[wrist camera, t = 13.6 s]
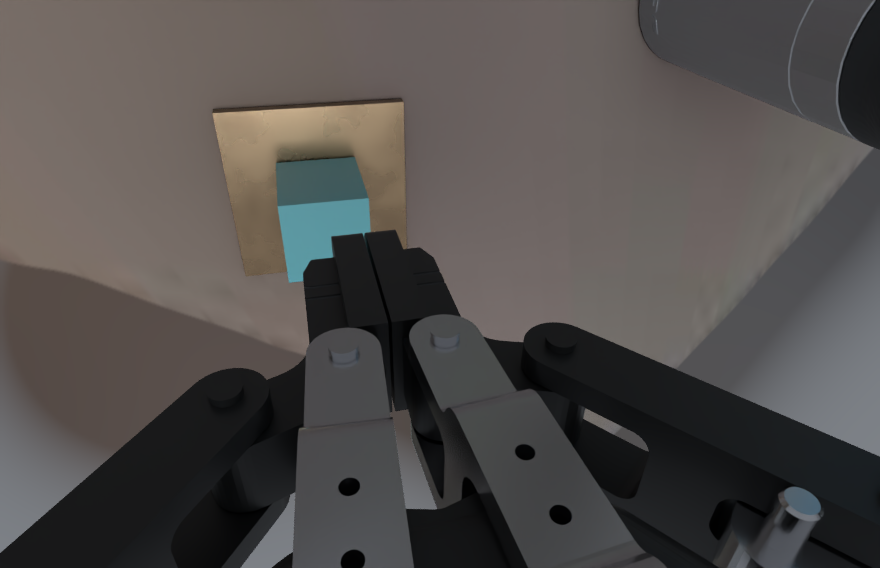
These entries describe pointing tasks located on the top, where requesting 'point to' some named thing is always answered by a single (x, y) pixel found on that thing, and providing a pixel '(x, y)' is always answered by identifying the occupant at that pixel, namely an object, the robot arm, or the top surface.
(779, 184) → the top surface
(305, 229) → the turquoise rectangular block
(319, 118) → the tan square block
